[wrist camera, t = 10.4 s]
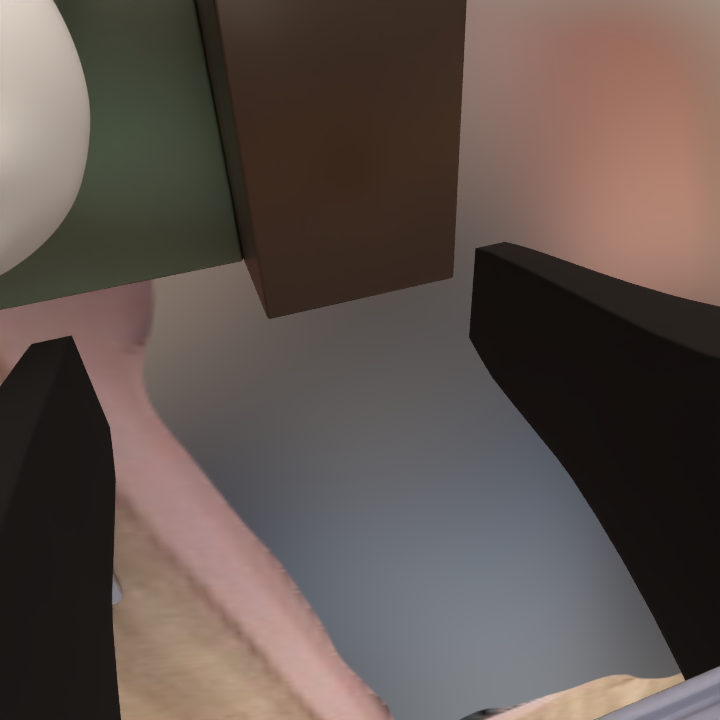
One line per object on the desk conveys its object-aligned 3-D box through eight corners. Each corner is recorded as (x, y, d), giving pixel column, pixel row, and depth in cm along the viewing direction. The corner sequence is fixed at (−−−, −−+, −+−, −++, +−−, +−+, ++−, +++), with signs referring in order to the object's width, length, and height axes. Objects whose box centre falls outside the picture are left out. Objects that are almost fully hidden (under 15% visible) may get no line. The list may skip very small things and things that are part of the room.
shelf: (369, 187, 21) (454, 278, 16) (-43, 262, 18) (-96, 403, 13) (344, -391, 13) (496, -567, 8) (-390, -420, 10) (-851, -719, 5)
